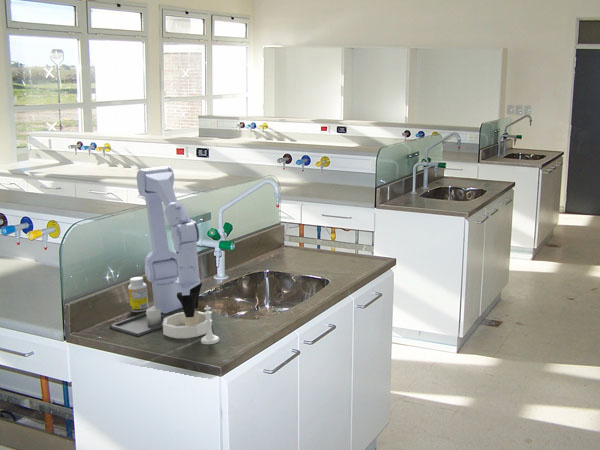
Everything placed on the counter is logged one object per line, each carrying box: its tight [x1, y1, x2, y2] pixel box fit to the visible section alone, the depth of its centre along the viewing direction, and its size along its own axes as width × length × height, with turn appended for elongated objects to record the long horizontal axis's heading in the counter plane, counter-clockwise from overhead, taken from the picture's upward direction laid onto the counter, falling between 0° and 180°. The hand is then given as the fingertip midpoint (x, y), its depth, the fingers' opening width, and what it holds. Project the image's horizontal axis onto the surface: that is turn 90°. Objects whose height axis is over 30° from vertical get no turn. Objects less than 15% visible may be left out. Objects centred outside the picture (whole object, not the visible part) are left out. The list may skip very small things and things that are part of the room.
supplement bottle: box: [127, 276, 150, 313], centre depth 219 cm, size 6×6×10 cm
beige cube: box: [184, 309, 199, 326], centre depth 201 cm, size 4×4×4 cm
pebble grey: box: [145, 306, 162, 327], centre depth 205 cm, size 4×4×4 cm
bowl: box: [162, 310, 212, 339], centre depth 199 cm, size 13×13×4 cm
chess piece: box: [200, 304, 220, 345], centre depth 190 cm, size 5×5×10 cm
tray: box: [109, 311, 168, 337], centre depth 206 cm, size 14×13×1 cm
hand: (191, 312), depth 200 cm, fingers open, 7 cm apart
